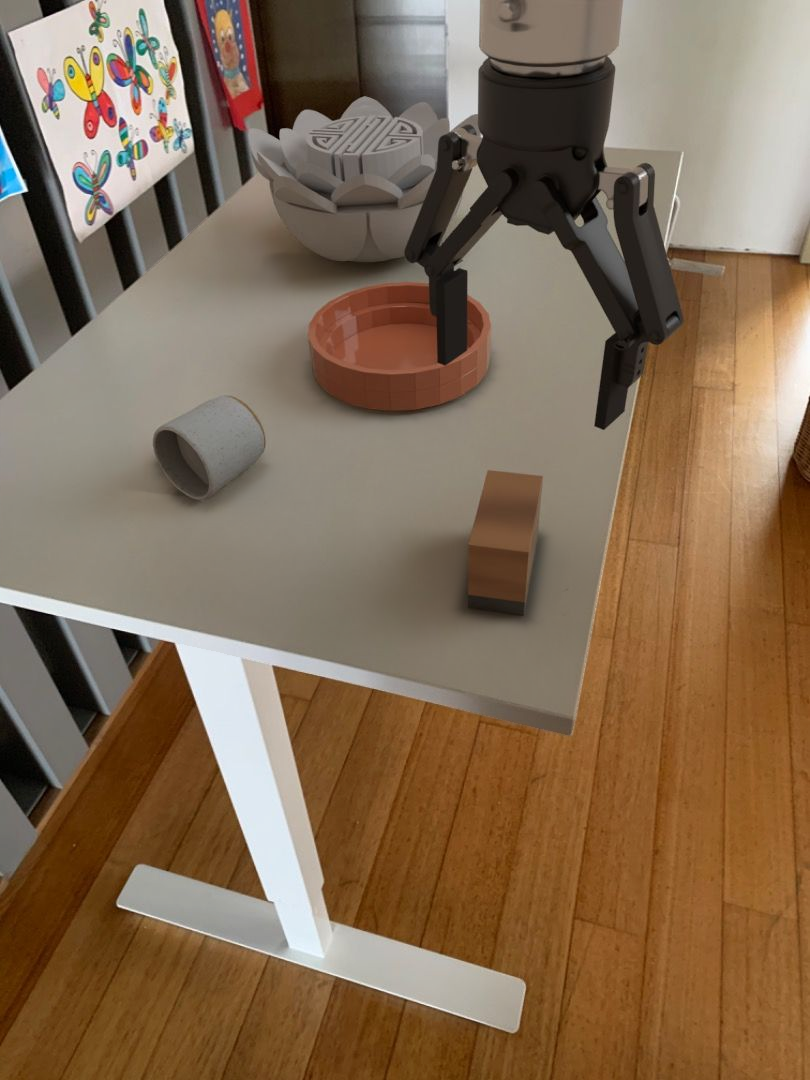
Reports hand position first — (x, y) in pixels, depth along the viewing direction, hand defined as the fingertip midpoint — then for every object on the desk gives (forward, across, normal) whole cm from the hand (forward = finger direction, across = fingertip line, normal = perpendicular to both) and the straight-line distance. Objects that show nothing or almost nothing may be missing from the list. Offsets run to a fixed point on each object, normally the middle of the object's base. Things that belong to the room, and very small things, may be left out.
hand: (526, 386), depth 61 cm
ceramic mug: (+16, -30, -10) cm, 35 cm away
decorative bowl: (+16, -51, +37) cm, 65 cm away
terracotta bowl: (+16, -27, +16) cm, 36 cm away
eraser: (+16, +1, -3) cm, 16 cm away
